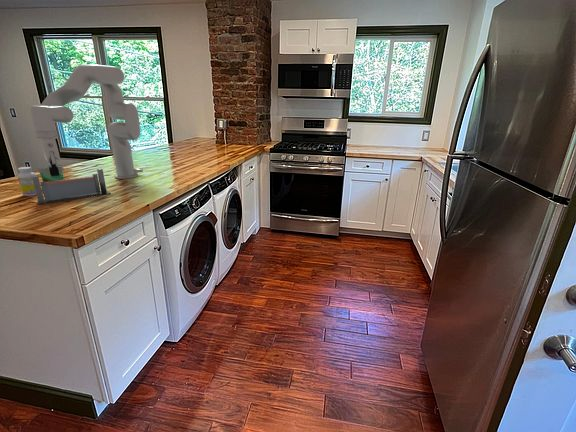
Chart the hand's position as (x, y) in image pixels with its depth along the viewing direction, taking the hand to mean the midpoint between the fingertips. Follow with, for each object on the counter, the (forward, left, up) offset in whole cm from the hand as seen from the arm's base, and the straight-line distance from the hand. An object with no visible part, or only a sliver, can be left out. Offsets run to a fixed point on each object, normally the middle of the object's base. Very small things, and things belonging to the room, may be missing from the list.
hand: (55, 175), depth 141 cm
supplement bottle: (+10, -10, -10) cm, 17 cm away
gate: (-4, +8, -9) cm, 13 cm away
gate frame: (-5, +8, -10) cm, 14 cm away
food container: (-2, -22, -10) cm, 25 cm away
